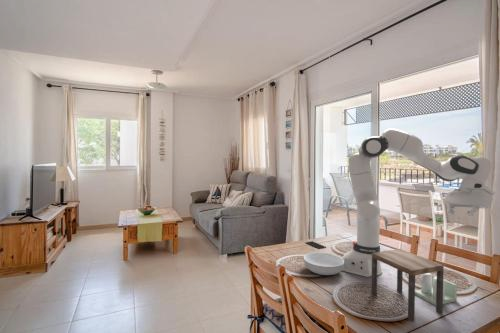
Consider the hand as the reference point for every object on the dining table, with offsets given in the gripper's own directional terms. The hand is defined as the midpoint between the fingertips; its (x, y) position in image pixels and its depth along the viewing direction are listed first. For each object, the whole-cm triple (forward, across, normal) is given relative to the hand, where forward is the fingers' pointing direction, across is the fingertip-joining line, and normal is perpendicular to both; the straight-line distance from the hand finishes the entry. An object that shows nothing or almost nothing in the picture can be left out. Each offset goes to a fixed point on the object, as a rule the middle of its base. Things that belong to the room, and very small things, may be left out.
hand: (459, 214), depth 125 cm
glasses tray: (+39, +1, +4) cm, 39 cm away
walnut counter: (+48, +3, -10) cm, 49 cm away
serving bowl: (+55, -33, -28) cm, 70 cm away
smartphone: (+44, -75, -18) cm, 88 cm away
